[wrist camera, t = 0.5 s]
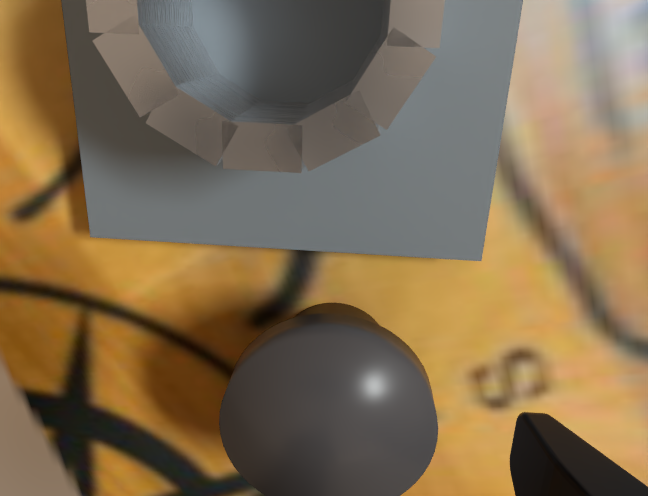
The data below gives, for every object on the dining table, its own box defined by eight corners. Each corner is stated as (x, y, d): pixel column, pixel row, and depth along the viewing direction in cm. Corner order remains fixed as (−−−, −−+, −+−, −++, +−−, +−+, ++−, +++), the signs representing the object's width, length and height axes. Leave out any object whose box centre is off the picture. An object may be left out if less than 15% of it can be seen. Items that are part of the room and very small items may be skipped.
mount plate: (472, 245, 21) (481, 261, 19) (108, 223, 21) (90, 237, 20) (557, -309, 15) (578, -344, 13) (48, -318, 15) (17, -354, 14)
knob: (412, 427, 24) (425, 522, 19) (248, 414, 24) (222, 505, 19) (431, 276, 21) (451, 344, 16) (247, 265, 21) (215, 328, 17)
